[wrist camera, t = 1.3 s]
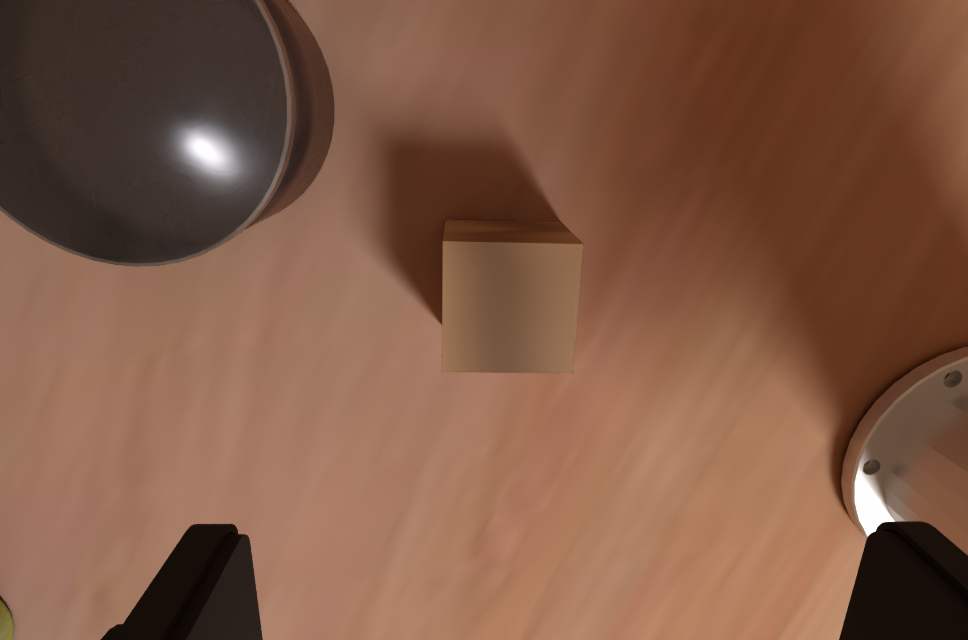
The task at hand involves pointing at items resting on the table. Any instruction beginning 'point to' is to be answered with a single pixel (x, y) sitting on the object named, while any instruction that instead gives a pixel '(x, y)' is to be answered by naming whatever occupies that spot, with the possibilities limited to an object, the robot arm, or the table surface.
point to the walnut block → (509, 296)
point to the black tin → (156, 122)
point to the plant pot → (5, 623)
